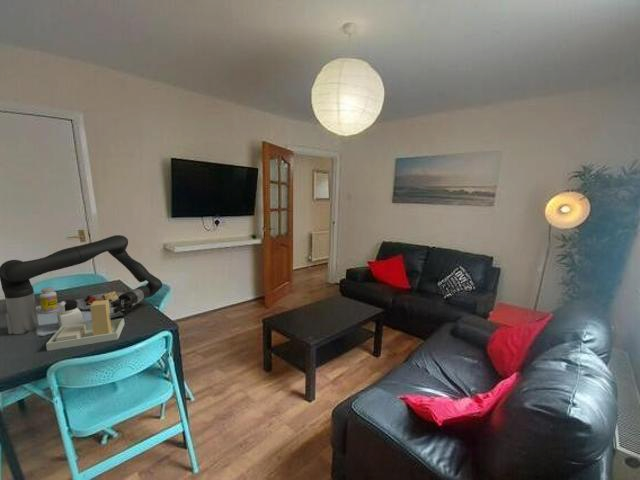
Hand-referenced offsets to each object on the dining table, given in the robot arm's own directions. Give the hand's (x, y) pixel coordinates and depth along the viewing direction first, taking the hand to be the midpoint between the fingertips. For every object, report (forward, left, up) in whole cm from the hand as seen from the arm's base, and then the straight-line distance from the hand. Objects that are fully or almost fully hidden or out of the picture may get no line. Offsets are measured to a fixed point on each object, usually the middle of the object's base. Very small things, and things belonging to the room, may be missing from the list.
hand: (105, 310), depth 133 cm
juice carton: (-1, -2, -10) cm, 10 cm away
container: (-17, +14, -11) cm, 25 cm away
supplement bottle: (-33, +40, -11) cm, 53 cm away
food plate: (-11, +44, -11) cm, 46 cm away
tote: (-6, -2, -11) cm, 13 cm away
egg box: (-12, -2, -10) cm, 16 cm away
